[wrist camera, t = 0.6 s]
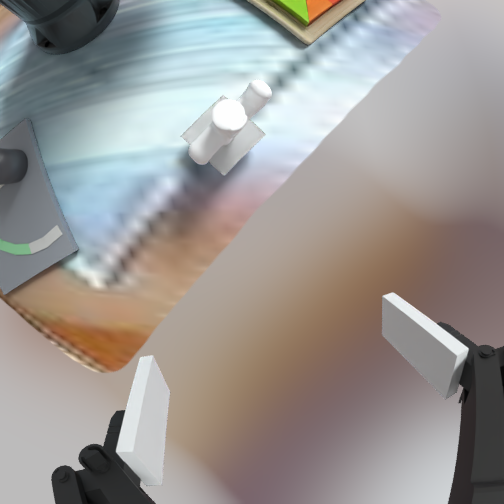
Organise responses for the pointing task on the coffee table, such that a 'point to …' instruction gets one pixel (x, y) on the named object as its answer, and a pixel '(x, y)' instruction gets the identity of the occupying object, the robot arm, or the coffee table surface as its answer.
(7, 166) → the white and grey lever
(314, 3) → the wooden puzzle
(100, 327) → the coffee table surface
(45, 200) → the tuner board
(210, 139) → the white faucet
